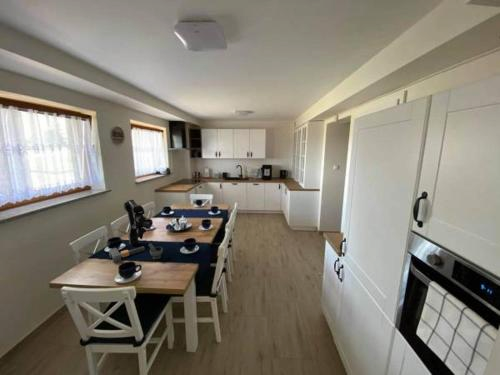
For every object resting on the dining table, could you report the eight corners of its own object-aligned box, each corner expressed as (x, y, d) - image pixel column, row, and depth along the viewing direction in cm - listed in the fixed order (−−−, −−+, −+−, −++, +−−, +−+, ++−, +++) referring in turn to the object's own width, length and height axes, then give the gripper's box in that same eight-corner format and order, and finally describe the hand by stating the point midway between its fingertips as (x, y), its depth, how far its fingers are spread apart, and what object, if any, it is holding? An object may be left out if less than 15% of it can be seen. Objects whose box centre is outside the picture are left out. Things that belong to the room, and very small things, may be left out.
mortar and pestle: (165, 254, 177) (164, 241, 174) (159, 260, 167) (158, 246, 165) (152, 254, 178) (151, 240, 175) (146, 259, 168) (145, 245, 166)
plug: (143, 249, 186) (143, 245, 186) (145, 250, 183) (144, 247, 182) (119, 256, 173) (118, 252, 173) (120, 258, 170) (120, 253, 170)
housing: (116, 253, 177) (116, 247, 176) (121, 261, 166) (120, 254, 165) (109, 255, 174) (108, 249, 173) (113, 263, 162) (113, 256, 161)
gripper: (151, 221, 176) (153, 238, 179) (145, 215, 190) (146, 232, 193) (137, 224, 169) (139, 242, 172) (131, 218, 182) (133, 235, 185)
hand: (139, 237), depth 180 cm, fingers open, 9 cm apart
